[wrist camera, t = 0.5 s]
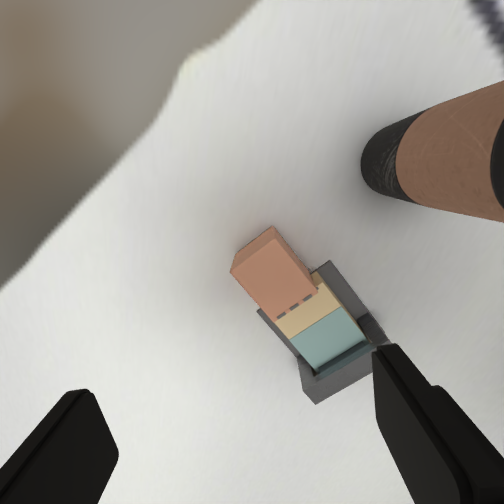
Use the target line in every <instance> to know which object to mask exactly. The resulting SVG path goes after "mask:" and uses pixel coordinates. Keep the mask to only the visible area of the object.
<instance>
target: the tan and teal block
mask: <svg viewBox="0 0 504 504" xmlns="http://www.w3.org/2000/svg"><path fill="white" fill-rule="evenodd" d="M311 277H312V280H313V282H314V284H315V286H316V289H317V291H318V293H317V294H316V295H314V296H313V297H311V298H310V299H308V300H307V301H305V302H304V303H302V304H301V305H299V306H298V307H296V308H295V309H293V310H292V311H290V312H289V313H287V314H286V315H285V316H283V317H282V318H280V319H279V320H277V321H276V322H274V323H275V324H276V325H277V326H278V328H279V329H280V330H281V331H282V332H283V333H284V335H285V336H286V337H287V338H288V339H289V341H290V342H291V343H292V344H293V345H294V347H295V348H296V349H297V350H298V351H299V352H300V353H301V355H302V356H303V357H304V358H305V359H306V360H307V362H308V363H309V364H310V365H311V366H312V367H313V368H314V370H315V371H316V372H317V373H318V374H319V369H318V367H320V366H321V365H323V364H325V363H326V362H328V361H330V360H331V359H333V358H335V357H336V356H338V355H340V354H341V353H343V352H345V351H346V350H348V349H350V348H351V347H353V346H355V345H356V344H358V343H359V342H361V341H363V342H364V343H365V345H368V344H370V343H371V341H370V340H369V338H368V337H367V335H366V334H365V332H364V331H363V330H362V329H361V327H360V326H359V325H358V323H357V322H356V321H355V320H354V318H353V317H352V316H351V314H350V313H349V312H348V311H347V309H346V308H345V307H344V306H343V304H342V303H341V302H340V300H339V299H338V298H337V297H336V295H335V294H334V293H333V291H332V290H331V289H330V288H329V286H328V285H327V284H326V282H325V281H324V280H323V279H322V277H321V276H320V275H319V273H318V272H317V271H315V272H314V273H313V274H311Z"/></svg>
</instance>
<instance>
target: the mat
mask: <svg viewBox="0 0 504 504" xmlns="http://www.w3.org/2000/svg"><path fill="white" fill-rule="evenodd" d="M315 271H317V272H318V273H319V275H320V276H321V277H322V279H323V280H324V281H325V282H326V284H327V285H328V286H329V288H330V289H331V290H332V291H333V293H334V294H335V295H336V297H337V298H338V299H339V300H340V302H341V303H342V304H343V306H344V307H345V308H346V309H347V311H348V312H349V313H350V314H351V316H352V317H353V318H354V320H355V321H356V322H357V323H358V325H359V326H360V327H361V329H362V330H363V331H364V329H363V328H362V326H361V324H360V323H359V321H358V320H357V319H358V318H359V317H361V316H362V315H364V314H366V313H367V312H369V311H368V310H367V308H366V307H365V306H364V304H363V303H362V302H361V300H360V299H359V298H358V296H357V295H356V294H355V292H354V291H353V290H352V288H351V287H350V286H349V285H348V283H347V282H346V281H345V279H344V278H343V277H342V275H341V274H340V273H339V271H338V270H337V269H336V267H335V266H334V265H333V263H332V262H331V261H330V260H329V261H328V262H327V263H325V264H324V265H322V266H321V267H319V268H318V269H317V270H315ZM315 271H314V272H315ZM314 272H312V273H311V274H313V273H314ZM311 274H310V275H311ZM257 313H258V314H259V315H260V316H261V317H262V319H263V320H264V321H265V322H266V323H267V324H268V325H269V327H270V328H271V329H272V330H273V331H274V332H275V333H276V335H277V336H278V337H279V338H280V339H281V340H282V341H283V343H284V344H285V345H286V346H287V347H288V348H289V349H290V351H291V352H292V353H293V354H294V355H295V356H296V357H297V356H299V355H300V354H301V353H300V352H299V351H298V350H297V349H296V348H295V347H294V345H293V344H292V343H291V342H290V341H289V339H288V338H287V337H286V336H285V335H284V333H283V332H282V331H281V330H280V329H279V328H278V326H277V325H276V324H275V323H273V322H272V320H271V319H270V318H269V317H268V316H267V315H266V313H265V312H264V311H263V310H262V309H259V310H258V311H257ZM369 314H370V312H369ZM370 315H371V314H370ZM371 316H372V315H371ZM372 318H373V319H374V317H373V316H372ZM374 320H375V319H374ZM375 321H376V320H375ZM376 323H377V321H376ZM377 324H378V323H377ZM378 325H379V324H378ZM379 327H380V325H379ZM380 328H381V327H380ZM381 329H382V328H381ZM382 331H383V329H382ZM364 332H365V331H364ZM383 332H384V331H383ZM384 333H385V332H384ZM365 334H366V332H365ZM366 335H367V334H366ZM367 337H368V335H367ZM368 338H369V337H368ZM369 340H370V339H369ZM370 341H371V340H370Z"/></svg>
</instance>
